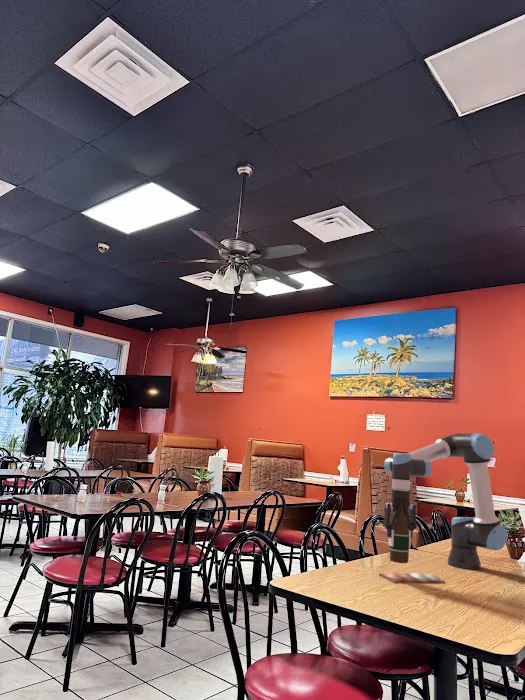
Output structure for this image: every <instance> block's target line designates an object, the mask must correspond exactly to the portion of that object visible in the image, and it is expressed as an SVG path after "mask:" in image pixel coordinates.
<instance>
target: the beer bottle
mask: <svg viewBox="0 0 525 700" xmlns="http://www.w3.org/2000/svg"><path fill="white" fill-rule="evenodd" d="M399 504H401V505H402V506H401V509H400V511H399V514H398V515H397V517H396V520H395V522H394V525H393V528H392V530H394V544H393V546H389V561H391V562H393V563H398V564H408V562H409V556H410V555H409V552H410V551H409V550H410V547H409V529H408V526H407V524H406V522H405V514H404V505H405V504H404V502H400V503H399Z"/></svg>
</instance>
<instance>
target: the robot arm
mask: <svg viewBox="0 0 525 700" xmlns="http://www.w3.org/2000/svg"><path fill="white" fill-rule="evenodd" d="M494 452H495V447H494V443H493V441H492V439H491V438H490V437H489V436H488V435H487V434H484V433H479V432H478V433H477V432H475V433H474V432H471V433H470V432H469V433H465V432H464V433H463V432H462V433H459V432H458V433H453V434H452V433H451V434H450V435H447V436H444V437H441V438H438V439H436V440H435V442H434V443H432V444H429V445H426V446H423V447H421V448H419V449H418V448H417V449H416V450H413V451H411V452H408V453H402V452H401V453H399V452H394V453H393V455H392V457H387V458H386V459H384V463H383V468H384V469H385V472H387V473H388V474H389V475H390V474H392V476H391V478H392V480H391V488H392V489H391V501H390V502H385V504H384V508H385V510H384V516H383V524H382V527H384V528H386V530H387V531H386V534H387V535H386V536H387V538H388V546H389V547H390V546H393V544H394V530H392V528H393V525H394V522H395V520H396V517H397V515H398V514H399V511H400V509H401V506H402V505H401V504H399V503H400V502H404V504H405V505H404V514H405V522H406V524H407V526H408V529H409V548H411V545H412V544H411V543H412V541H411V540H412V539H413V532H414V531H415V530H416V529H418V527H417V524H418V523H417V516H416V508H417V505H416V504H412V503H410V500H411V492H410V490H411V477H419V478H427V477H429V476H430V475H431V474H432V471H433V469H432V468H433V467H432V465H431V463H432V462H433V461H436V460H439V459H448V458H463V462H464V464H465V465H466V466H467V467H468V473H469V482H470V488H471V494H472V500H473V507H474V513H475V514H474V515H475V516H473V517H472V516H471V517H469V516H467V517H466V516H454V517H452V519H451V524H450V525H451V526H450V528H451V530H450V531H451V533H450V534H451V540H450V541H451V548H450V551H449V554H448V558H447V564H448V565H449V566H452V567H455V568H459V569H460V568H461V569H466V570H467V569H468V570H481V569H482V566H481V565H482V564H481V560H480V556H479V554H478V548H482V549H486V550H489V551H500V550H502V549H503V548H505V545H506V543H507V540H508V531H507V529H506V527H505V526H504V525H502V524H501V522H500V519H499V518H498V517H497V516H496V514H495V512H496V511H495V506H494V500H493V493H492V487H491V479H490V473H489V468H488V464H490V462H491V458H492V457H493V455H494Z"/></svg>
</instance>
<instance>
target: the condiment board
mask: <svg viewBox="0 0 525 700" xmlns="http://www.w3.org/2000/svg"><path fill="white" fill-rule="evenodd" d="M378 576H380V577H381V578H383V579H385V580H387V581H389V582H391V583H393V584H446V580H443V579H441V578H440V577H438V576H437V575H434V574H431V573H424V572H412V573H411V572H410V573H400V572H385V573H380V572H379V573H378Z"/></svg>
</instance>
